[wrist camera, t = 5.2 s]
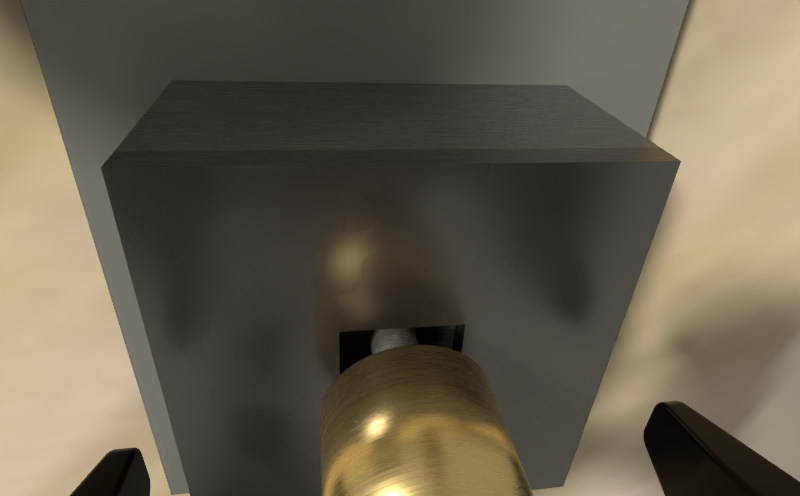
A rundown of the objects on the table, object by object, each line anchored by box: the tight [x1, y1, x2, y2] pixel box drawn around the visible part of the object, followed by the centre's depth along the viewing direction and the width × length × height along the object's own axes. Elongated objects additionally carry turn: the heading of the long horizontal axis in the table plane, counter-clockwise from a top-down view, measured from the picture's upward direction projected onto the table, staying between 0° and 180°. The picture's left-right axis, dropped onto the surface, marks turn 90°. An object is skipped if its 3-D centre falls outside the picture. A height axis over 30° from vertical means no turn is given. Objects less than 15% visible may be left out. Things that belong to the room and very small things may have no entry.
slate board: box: [20, 0, 689, 495], centre depth 15 cm, size 20×14×1 cm
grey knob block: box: [101, 80, 681, 496], centre depth 12 cm, size 9×9×5 cm
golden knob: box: [320, 327, 533, 496], centre depth 11 cm, size 4×4×8 cm
